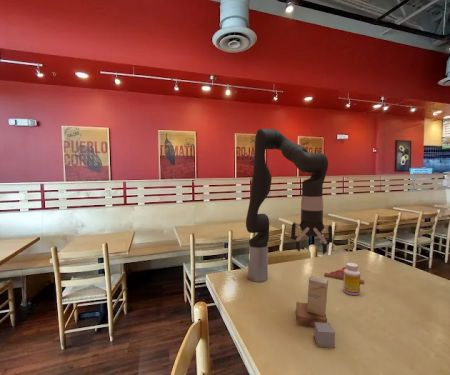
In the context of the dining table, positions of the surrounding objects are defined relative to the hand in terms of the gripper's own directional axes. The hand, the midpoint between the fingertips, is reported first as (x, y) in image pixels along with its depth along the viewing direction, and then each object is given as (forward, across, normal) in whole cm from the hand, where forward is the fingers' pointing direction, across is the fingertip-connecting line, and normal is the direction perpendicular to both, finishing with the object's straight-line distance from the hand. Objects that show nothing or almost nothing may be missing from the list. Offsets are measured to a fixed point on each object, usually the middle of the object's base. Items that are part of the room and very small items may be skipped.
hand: (311, 252), depth 94 cm
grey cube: (+25, +5, -12) cm, 29 cm away
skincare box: (+22, +2, -1) cm, 22 cm away
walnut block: (+26, 0, -1) cm, 26 cm away
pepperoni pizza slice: (+26, +15, +50) cm, 59 cm away
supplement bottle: (+26, +16, +28) cm, 41 cm away
